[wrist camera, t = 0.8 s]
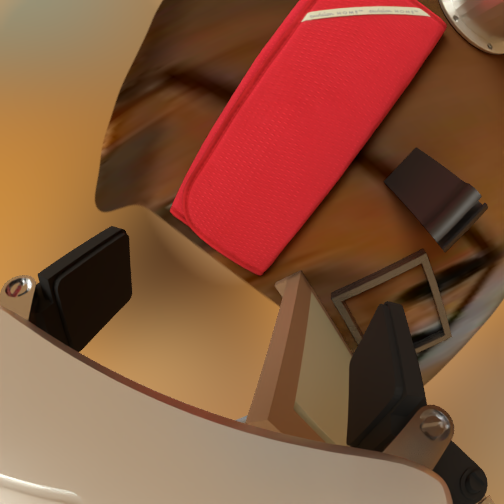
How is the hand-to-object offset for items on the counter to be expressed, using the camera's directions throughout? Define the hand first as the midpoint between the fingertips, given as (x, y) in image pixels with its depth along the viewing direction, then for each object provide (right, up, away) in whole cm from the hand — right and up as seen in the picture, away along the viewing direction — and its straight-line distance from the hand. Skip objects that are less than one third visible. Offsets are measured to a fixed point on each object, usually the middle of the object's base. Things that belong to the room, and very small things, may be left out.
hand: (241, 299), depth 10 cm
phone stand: (+21, +9, +21) cm, 31 cm away
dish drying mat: (+6, +18, +21) cm, 28 cm away
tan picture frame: (+13, -12, +32) cm, 37 cm away
